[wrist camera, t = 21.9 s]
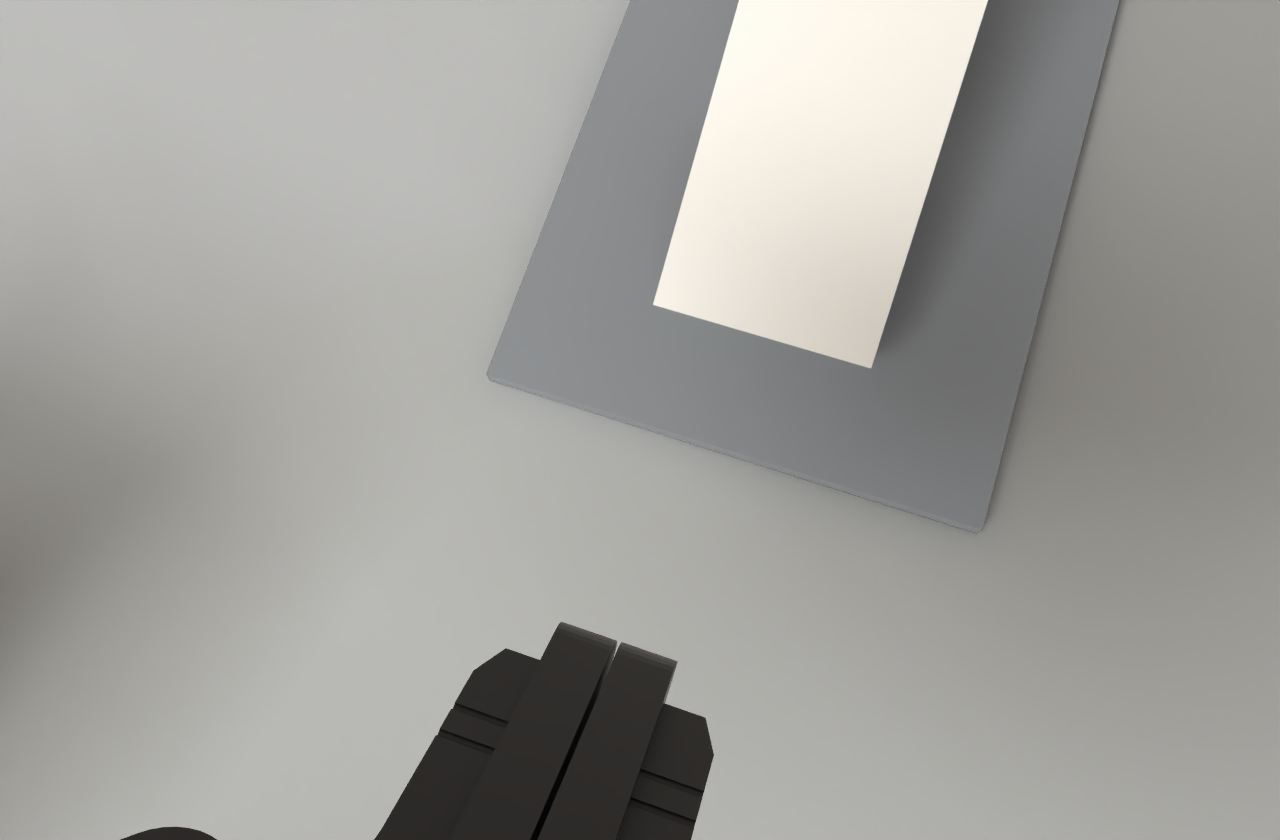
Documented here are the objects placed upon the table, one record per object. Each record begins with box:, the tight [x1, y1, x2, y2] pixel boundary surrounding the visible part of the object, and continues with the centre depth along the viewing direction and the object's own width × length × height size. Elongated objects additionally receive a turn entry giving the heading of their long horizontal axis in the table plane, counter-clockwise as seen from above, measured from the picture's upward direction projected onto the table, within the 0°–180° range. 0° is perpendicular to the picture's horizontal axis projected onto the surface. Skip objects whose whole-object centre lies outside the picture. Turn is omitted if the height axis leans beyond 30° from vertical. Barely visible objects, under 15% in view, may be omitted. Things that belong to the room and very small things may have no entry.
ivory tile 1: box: [653, 0, 988, 368], centre depth 25 cm, size 2×5×11 cm
